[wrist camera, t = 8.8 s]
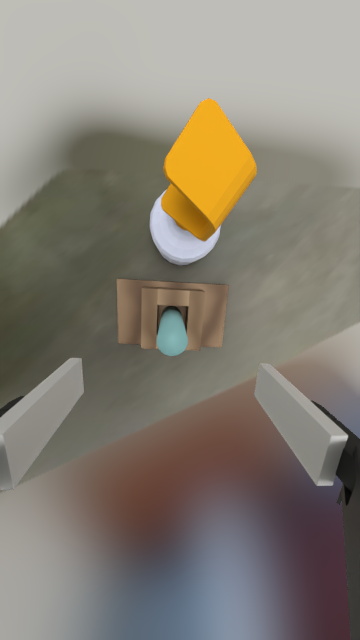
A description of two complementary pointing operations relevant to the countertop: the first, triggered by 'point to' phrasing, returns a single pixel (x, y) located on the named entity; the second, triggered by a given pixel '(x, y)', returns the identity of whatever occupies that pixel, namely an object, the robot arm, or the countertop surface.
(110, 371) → the countertop surface
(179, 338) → the peg
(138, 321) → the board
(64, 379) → the robot arm
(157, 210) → the soap bottle
